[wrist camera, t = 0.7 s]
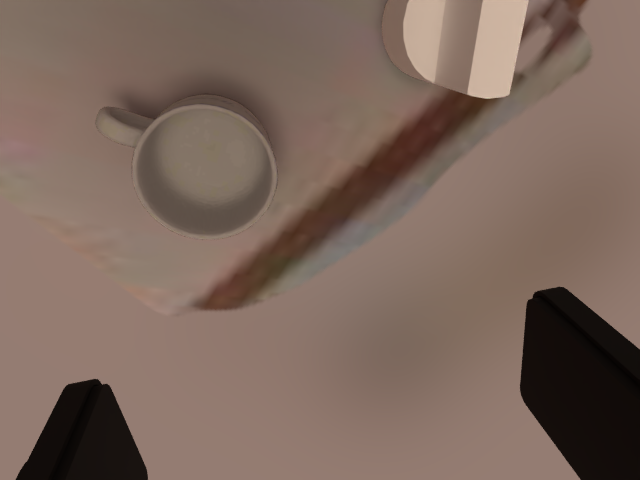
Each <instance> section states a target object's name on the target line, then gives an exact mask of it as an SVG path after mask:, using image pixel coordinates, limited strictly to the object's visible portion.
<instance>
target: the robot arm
mask: <svg viewBox="0 0 640 480" xmlns="http://www.w3.org/2000/svg"><path fill="white" fill-rule="evenodd" d="M520 391H521V396H522V398H523V401H524V403H525V404H526V406H527V407H528V408H529V410H530V411H531V412H532V414H533V415H534V416H535V418H536V419H537V420H538V422H539V423H540V425H541V426H542V427H543V429H544V430H545V431H546V433H547V434H548V436H549V437H550V438H551V440H552V441H553V442H554V444H555V445H556V446H557V448H558V449H559V450H560V452H561V453H562V455H563V456H564V457H565V459H566V460H567V461H568V463H569V464H570V466H571V467H572V468H573V469H574V471H575V472H576V474H577V475H578V476H579V478H580V479H581V480H640V349H638V348H637V347H636V346H635V345H634V344H632V343H631V342H630V341H628V339H626V338H625V337H624V336H623V335H621V334H620V333H619V332H618V331H617V330H615V329H614V328H613V327H612V326H610V325H609V324H608V323H607V322H606V321H605V320H603V319H602V318H601V317H600V316H598V315H597V314H596V313H595V312H594V311H592V310H591V309H590V308H588V306H586V305H585V304H584V303H583V302H582V301H580V300H579V299H578V298H577V297H575V296H574V295H573V294H572V293H571V292H569V291H568V290H567V289H565V288H564V287H557V288H551V289H546V290H541V291H537V292H535V293H534V295H533V298H532V299H530V300H528V302H527V308H526V320H525V332H524V345H523V357H522V370H521V382H520ZM16 480H148V475H147V469H146V467H145V464H144V462H143V460H142V457H141V455H140V453H139V451H138V448H137V446H136V444H135V442H134V439H133V437H132V435H131V432H130V430H129V428H128V426H127V423H126V421H125V419H124V417H123V414H122V412H121V410H120V408H119V405H118V403H117V401H116V398H115V396H114V394H113V392H112V389H111V388H110V386H109V385H108V384H103V385H102V384H101V383H100V381H99V380H98V379H93V380H88V381H82V382H77V383H73V384H68V385H67V386H66V387H65V388H64V390H63V392H62V394H61V395H60V397H59V399H58V401H57V403H56V405H55V407H54V409H53V411H52V413H51V415H50V417H49V419H48V421H47V423H46V425H45V427H44V429H43V431H42V433H41V435H40V437H39V439H38V441H37V443H36V445H35V447H34V449H33V451H32V453H31V455H30V457H29V459H28V461H27V462H26V463H25V464H24V466H23V467H22V469H21V470H20V472H19V474H18V476H17V478H16Z"/></svg>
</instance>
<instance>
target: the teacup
mask: <svg viewBox="0 0 640 480" xmlns="http://www.w3.org/2000/svg"><path fill="white" fill-rule="evenodd" d="M95 124H96V128H97V129H98V131H99V132H100V133H101V134H102V135H104V136H105V137H107V138H109V139H111V140H113V141H115V142H117V143H120V144H122V145H126V146H130V147H134V148H135V150H134V154H133V159H132V179H133V183H134V188H135V191H136V193H137V196H138V198H139V200H140V202H141V203H142V205H143V206H144V208H145V209H146V210H147V212H148V213H149V214H150V215H151V216H152V217H153V218H154V219H155V220H157V221H158V222H159V223H160V224H161V225H163V226H164V227H166V228H167V229H169V230H171V231H173V232H175V233H177V234H180V235H182V236H185V237H189V238H194V239H201V240H215V239H223V238H227V237H231V236H234V235H237V234H239V233H241V232H243V231H244V230H246V229H248V228H249V227H251V226H252V225H253V224H254V223H256V222H257V221H258V220H259V219H260V218H261V217H262V216H263V215H264V213H265V212H266V211H267V209H268V208H269V206H270V204H271V202H272V200H273V197H274V195H275V192H276V187H277V181H278V178H277V177H278V173H277V165H276V160H275V157H274V153H273V150H272V147H271V143H270V140H269V138H268V135H267V133H266V131H265V129H264V128H263V126H262V124H261V123H260V122H259V120H258V119H257V118H256V117H255V116H254V115H253V114H252V113H251V112H250V111H249V110H248V109H247V108H245V107H244V106H242V105H241V104H239V103H237V102H235V101H233V100H231V99H228V98H225V97H222V96H217V95H195V96H191V97H187V98H184V99H182V100H179V101H177V102H175V103H174V104H172V105H170V106H169V107H168V108H166V109H165V110H164V111H163V112H162V113H161V114H160V115H159V116H158V117H157V118H156V119H152V118H147V117H144V116H141V115H138V114H135V113H133V112H130V111H126V110H123V109H119V108H116V107H104V108H102V109H101V110H100V111H99V112H98V114H97V117H96V123H95Z"/></svg>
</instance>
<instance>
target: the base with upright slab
mask: <svg viewBox="0 0 640 480" xmlns="http://www.w3.org/2000/svg"><path fill="white" fill-rule="evenodd" d="M527 5H528V0H388V1H387V3H386V6H385V9H384V14H383V19H382V39H383V42H384V46H385V50H386V52H387V54H388V56H389V57H390V59H391V61H392V62H393V64H394V65H395V66H397V67H398V68H399V69H400V70H401V71H402V72H403V73H405V74H407V75H409V76H411V77H413V78H416V79H420V80H423V81H426V82H429V83H432V84H435V85H439V86H442V87H445V88H448V89H451V90H454V91H457V92H461V93H464V94H467V95H470V96H475V97H480V98H486V99H489V98H498V97H505V96H507V95H509V93H510V88H511V83H512V78H513V74H514V69H515V64H516V59H517V54H518V49H519V44H520V39H521V35H522V30H523V25H524V20H525V15H526V10H527Z"/></svg>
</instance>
